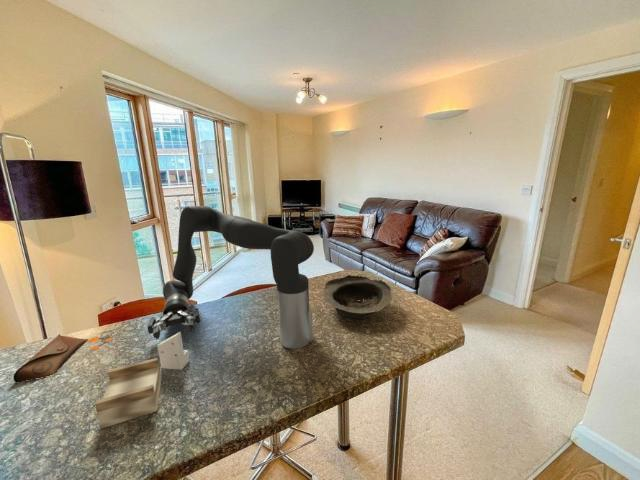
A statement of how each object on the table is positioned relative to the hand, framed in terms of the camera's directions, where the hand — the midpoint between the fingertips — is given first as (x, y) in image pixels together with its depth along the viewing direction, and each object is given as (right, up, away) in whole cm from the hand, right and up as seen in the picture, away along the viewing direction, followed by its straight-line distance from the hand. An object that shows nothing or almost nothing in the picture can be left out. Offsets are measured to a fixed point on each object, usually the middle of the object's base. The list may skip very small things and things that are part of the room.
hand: (174, 332), depth 81 cm
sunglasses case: (-33, -8, -1) cm, 34 cm away
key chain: (-26, -6, +6) cm, 28 cm away
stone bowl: (+56, 0, +23) cm, 60 cm away
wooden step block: (0, -10, -17) cm, 19 cm away
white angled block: (+3, -8, -4) cm, 9 cm away
